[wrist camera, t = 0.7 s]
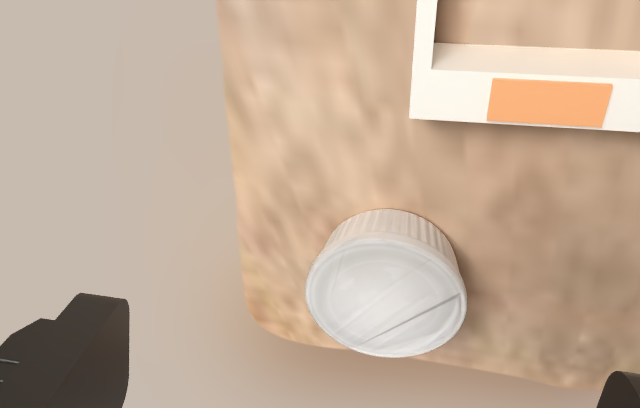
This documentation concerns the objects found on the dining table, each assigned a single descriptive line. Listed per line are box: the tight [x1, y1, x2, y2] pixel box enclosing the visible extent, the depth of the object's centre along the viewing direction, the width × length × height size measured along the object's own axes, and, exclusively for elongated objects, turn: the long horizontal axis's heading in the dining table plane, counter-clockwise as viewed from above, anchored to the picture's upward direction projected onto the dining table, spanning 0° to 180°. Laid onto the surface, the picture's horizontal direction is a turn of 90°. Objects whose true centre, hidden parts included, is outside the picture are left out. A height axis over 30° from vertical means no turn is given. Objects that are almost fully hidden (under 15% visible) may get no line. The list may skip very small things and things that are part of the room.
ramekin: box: [305, 209, 467, 358], centre depth 44 cm, size 11×11×5 cm
